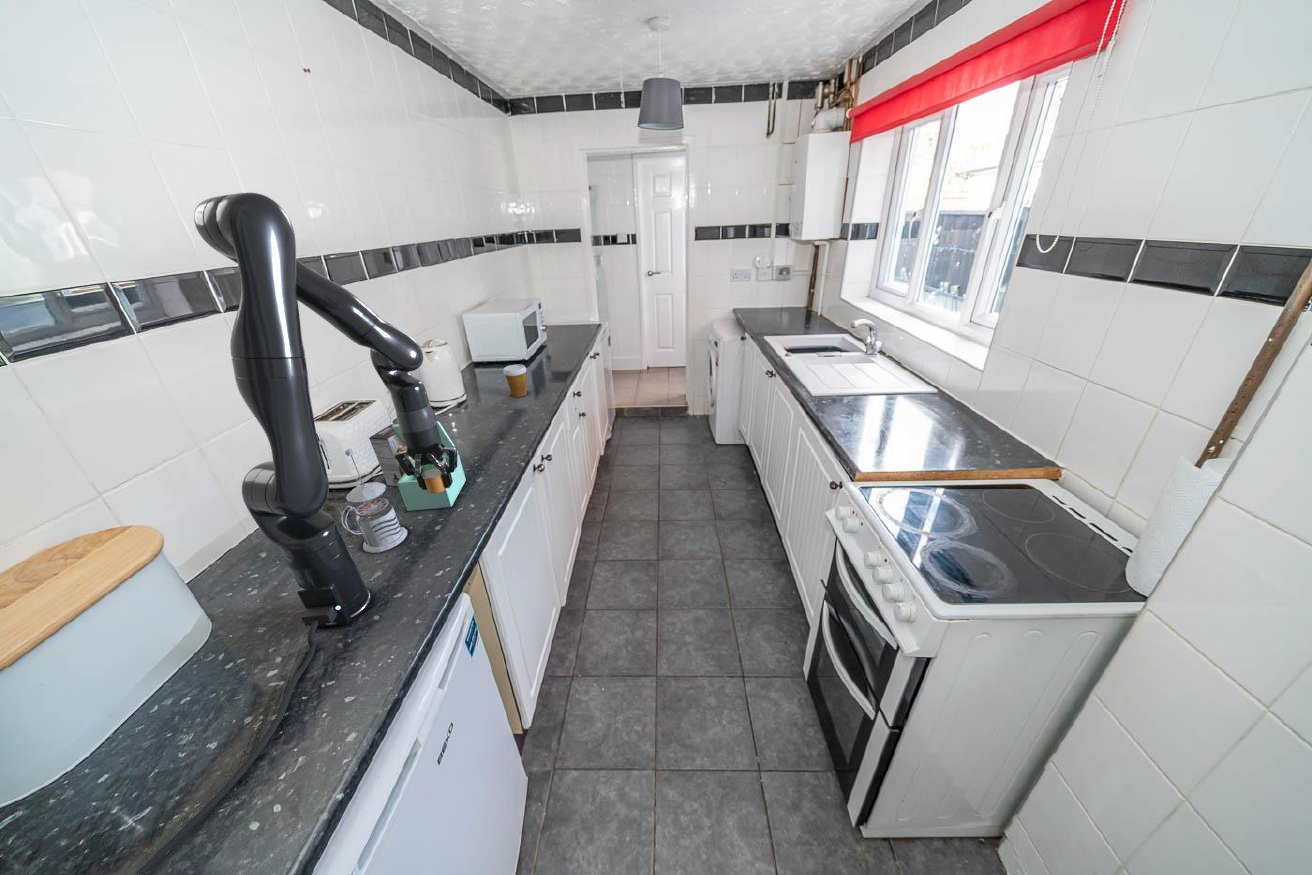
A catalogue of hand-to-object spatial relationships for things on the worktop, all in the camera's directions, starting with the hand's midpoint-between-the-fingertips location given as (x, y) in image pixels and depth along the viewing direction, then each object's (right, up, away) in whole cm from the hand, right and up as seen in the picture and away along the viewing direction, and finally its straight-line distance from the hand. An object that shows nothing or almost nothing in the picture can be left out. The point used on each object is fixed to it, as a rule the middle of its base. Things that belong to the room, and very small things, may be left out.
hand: (437, 487), depth 111 cm
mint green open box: (-8, -4, +16) cm, 18 cm away
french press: (-13, -13, -1) cm, 18 cm away
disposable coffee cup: (-5, +31, +84) cm, 90 cm away
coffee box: (-21, 0, +25) cm, 33 cm away
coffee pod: (0, 0, 0) cm, 0 cm away
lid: (-9, +11, +12) cm, 18 cm away
